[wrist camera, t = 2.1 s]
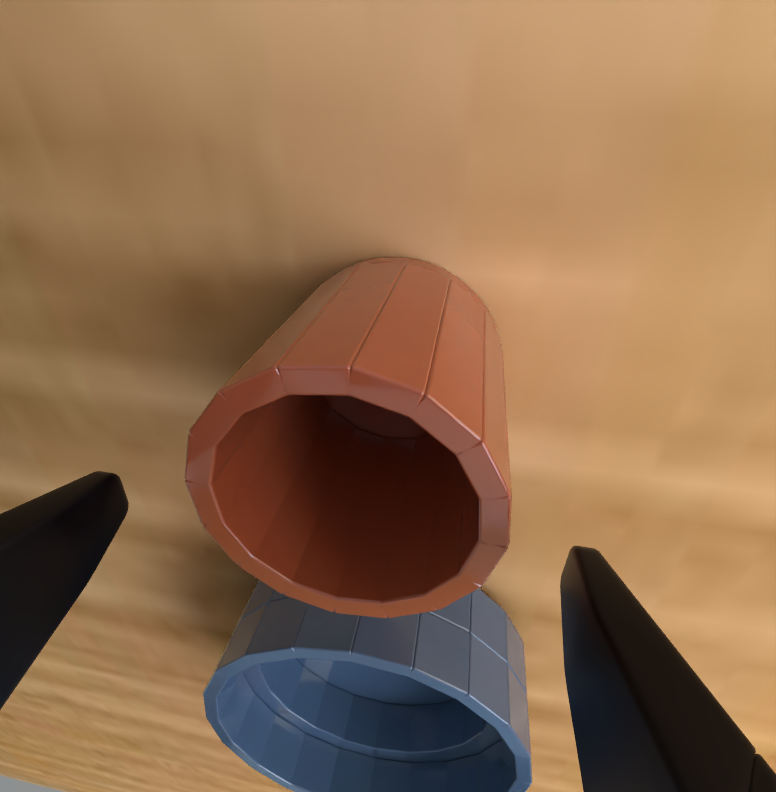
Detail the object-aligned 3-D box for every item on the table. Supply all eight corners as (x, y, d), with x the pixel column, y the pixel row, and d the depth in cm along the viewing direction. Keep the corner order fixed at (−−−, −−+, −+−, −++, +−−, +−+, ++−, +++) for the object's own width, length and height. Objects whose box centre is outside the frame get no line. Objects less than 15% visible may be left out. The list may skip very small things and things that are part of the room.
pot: (359, 462, 18) (297, 635, 12) (261, 310, 15) (120, 434, 9) (531, 407, 15) (559, 591, 10) (448, 215, 13) (415, 304, 7)
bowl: (338, 715, 28) (312, 821, 24) (203, 569, 23) (140, 671, 19) (562, 697, 23) (578, 827, 19) (452, 506, 18) (441, 624, 14)
